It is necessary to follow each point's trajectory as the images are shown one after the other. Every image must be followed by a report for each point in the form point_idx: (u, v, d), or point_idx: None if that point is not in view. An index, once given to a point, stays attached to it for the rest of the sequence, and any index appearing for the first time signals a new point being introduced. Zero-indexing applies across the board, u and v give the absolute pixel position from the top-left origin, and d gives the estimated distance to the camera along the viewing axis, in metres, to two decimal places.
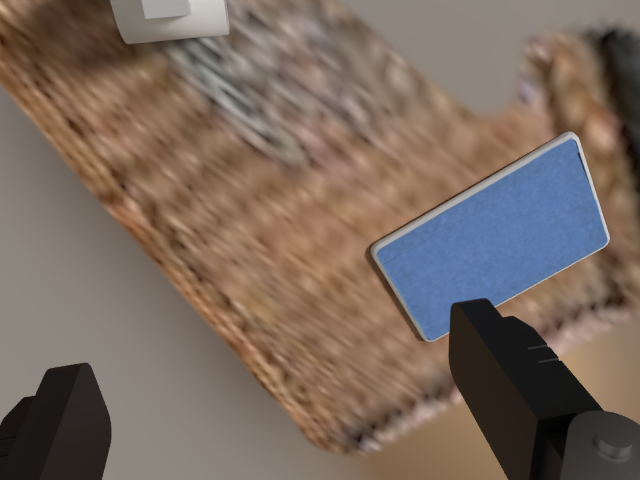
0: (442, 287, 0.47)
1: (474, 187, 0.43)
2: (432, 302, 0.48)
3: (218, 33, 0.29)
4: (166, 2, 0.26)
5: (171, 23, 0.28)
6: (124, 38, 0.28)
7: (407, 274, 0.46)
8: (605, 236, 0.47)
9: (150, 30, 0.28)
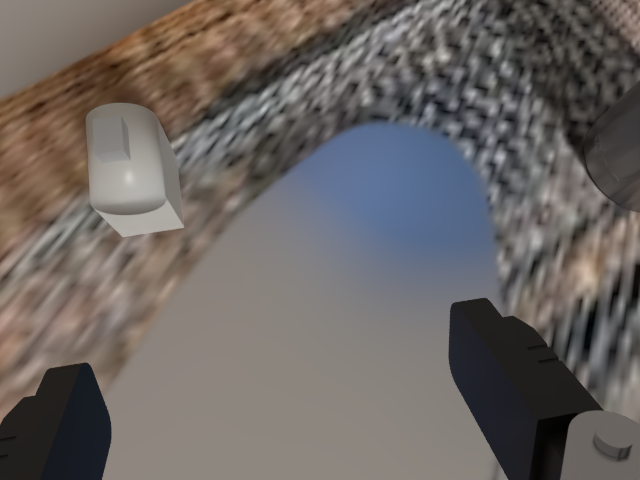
0: None
1: None
2: None
3: (90, 193, 0.32)
4: (105, 135, 0.30)
5: None
6: (87, 116, 0.33)
7: None
8: None
9: (91, 134, 0.32)
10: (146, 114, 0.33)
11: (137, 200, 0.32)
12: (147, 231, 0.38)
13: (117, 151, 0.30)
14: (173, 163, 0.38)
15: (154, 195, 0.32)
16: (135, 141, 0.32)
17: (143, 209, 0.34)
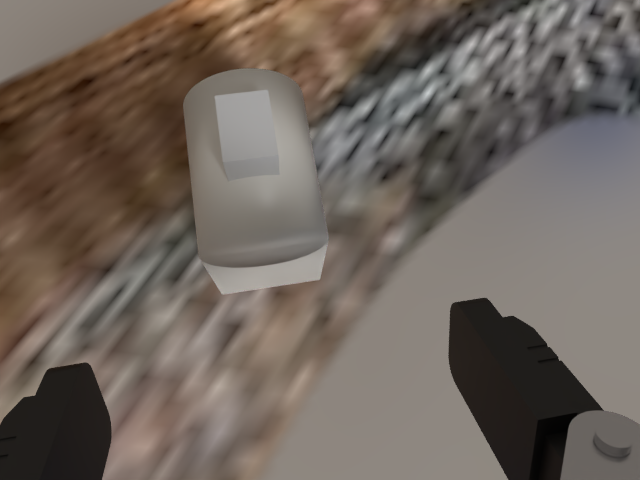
0: None
1: None
2: None
3: (199, 234, 0.17)
4: (241, 127, 0.15)
5: (211, 153, 0.17)
6: (189, 93, 0.18)
7: None
8: None
9: (201, 125, 0.17)
10: (294, 92, 0.18)
11: (279, 246, 0.18)
12: (263, 286, 0.23)
13: (265, 158, 0.15)
14: None
15: (312, 238, 0.18)
16: (284, 139, 0.17)
17: (279, 258, 0.19)
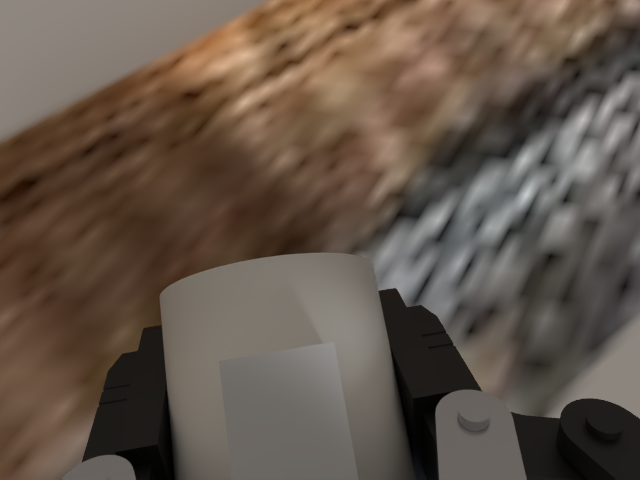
0: None
1: None
2: None
3: None
4: (278, 441, 0.07)
5: (212, 439, 0.08)
6: (169, 290, 0.10)
7: None
8: None
9: (191, 368, 0.09)
10: (366, 283, 0.10)
11: None
12: None
13: None
14: None
15: None
16: (356, 405, 0.09)
17: None
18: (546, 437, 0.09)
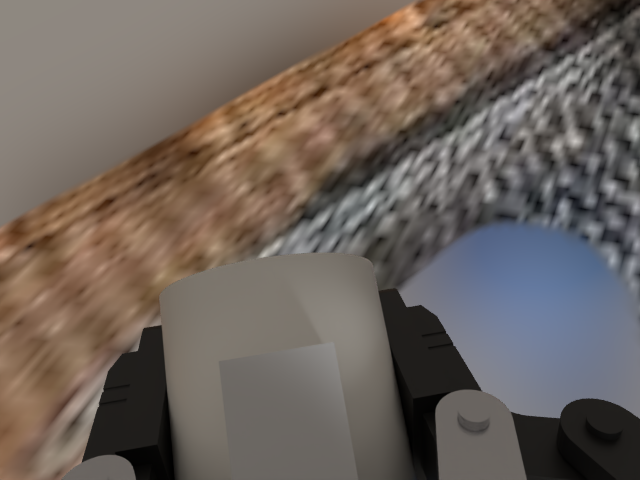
0: None
1: None
2: None
3: None
4: (278, 441, 0.07)
5: (212, 439, 0.08)
6: (169, 290, 0.10)
7: None
8: None
9: (190, 368, 0.09)
10: (366, 283, 0.10)
11: None
12: None
13: None
14: None
15: None
16: (356, 405, 0.09)
17: None
18: (546, 437, 0.09)
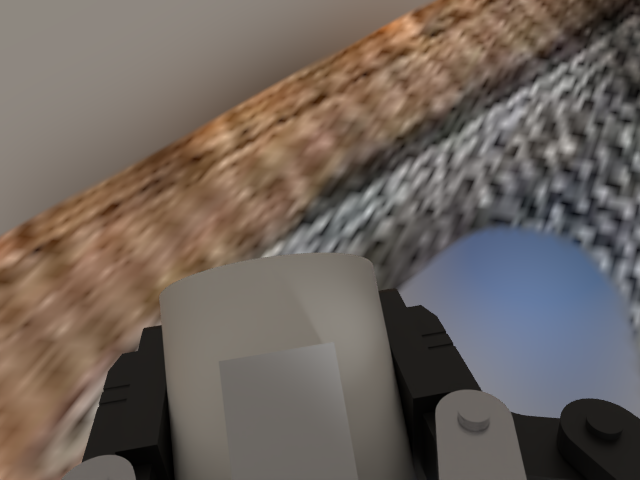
0: None
1: None
2: None
3: None
4: (278, 441, 0.07)
5: (212, 439, 0.08)
6: (169, 290, 0.10)
7: None
8: None
9: (190, 368, 0.09)
10: (366, 283, 0.10)
11: None
12: None
13: None
14: None
15: None
16: (356, 405, 0.09)
17: None
18: (546, 437, 0.09)
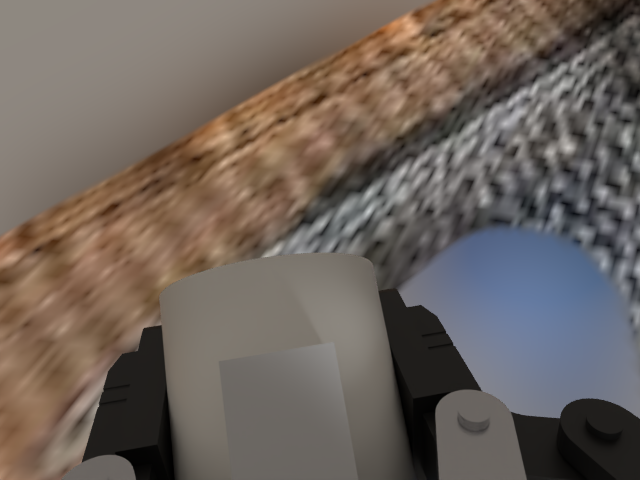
0: None
1: None
2: None
3: None
4: (278, 441, 0.07)
5: (212, 439, 0.08)
6: (169, 290, 0.10)
7: None
8: None
9: (190, 368, 0.09)
10: (366, 283, 0.10)
11: None
12: None
13: None
14: None
15: None
16: (356, 405, 0.09)
17: None
18: (546, 437, 0.09)
